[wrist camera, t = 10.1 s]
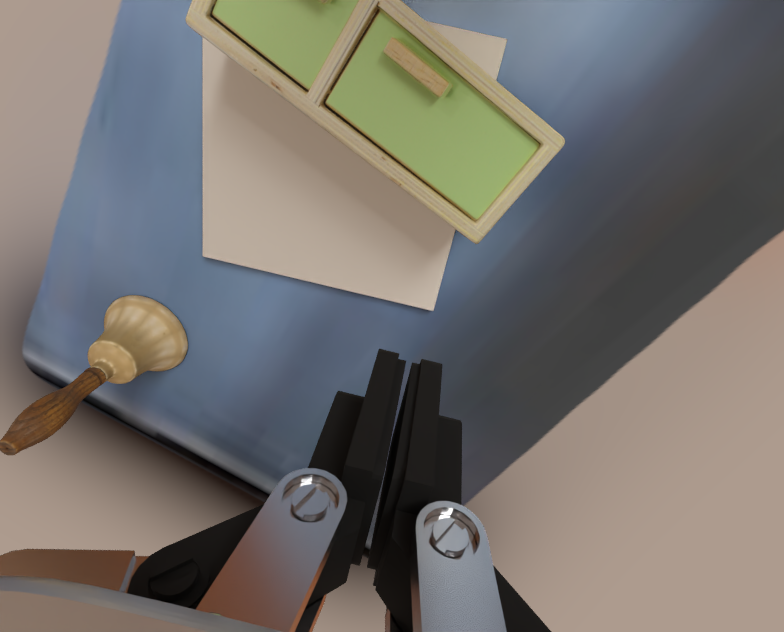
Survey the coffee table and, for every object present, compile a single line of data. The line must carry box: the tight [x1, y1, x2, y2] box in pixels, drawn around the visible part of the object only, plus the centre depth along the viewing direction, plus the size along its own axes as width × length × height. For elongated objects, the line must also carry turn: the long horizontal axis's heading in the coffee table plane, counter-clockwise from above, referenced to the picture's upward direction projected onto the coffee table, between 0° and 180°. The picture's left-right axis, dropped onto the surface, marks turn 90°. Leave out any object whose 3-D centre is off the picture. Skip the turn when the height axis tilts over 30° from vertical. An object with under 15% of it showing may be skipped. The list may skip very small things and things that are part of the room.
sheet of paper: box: [203, 21, 507, 311], centre depth 35 cm, size 20×20×1 cm
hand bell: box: [0, 295, 188, 455], centre depth 39 cm, size 8×8×16 cm
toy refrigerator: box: [186, 0, 565, 244], centre depth 29 cm, size 8×7×21 cm
